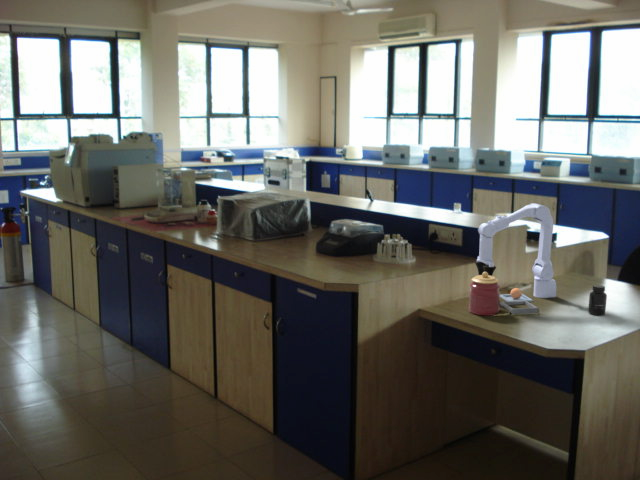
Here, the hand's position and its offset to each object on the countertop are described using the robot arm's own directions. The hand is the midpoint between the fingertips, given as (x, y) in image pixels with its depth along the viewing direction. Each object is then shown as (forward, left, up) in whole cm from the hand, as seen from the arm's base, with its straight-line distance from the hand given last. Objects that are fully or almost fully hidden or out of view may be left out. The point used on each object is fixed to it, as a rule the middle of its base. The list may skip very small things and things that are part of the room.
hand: (484, 279), depth 307 cm
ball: (-14, +3, -9) cm, 17 cm away
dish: (-14, +3, -10) cm, 18 cm away
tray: (-9, +17, -10) cm, 22 cm away
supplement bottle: (-39, +28, -10) cm, 49 cm away
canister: (+7, +17, -10) cm, 21 cm away
